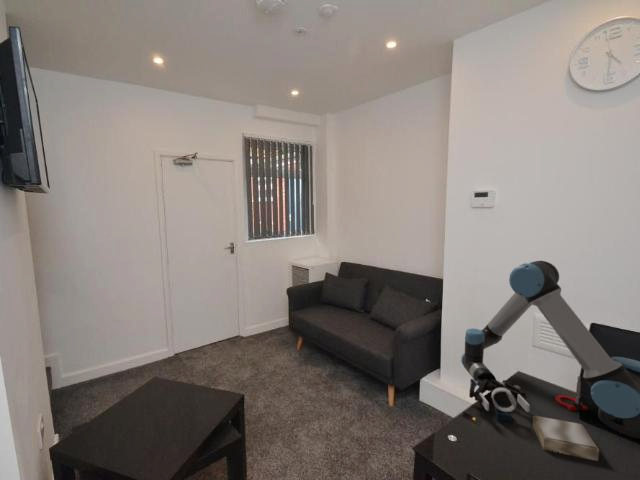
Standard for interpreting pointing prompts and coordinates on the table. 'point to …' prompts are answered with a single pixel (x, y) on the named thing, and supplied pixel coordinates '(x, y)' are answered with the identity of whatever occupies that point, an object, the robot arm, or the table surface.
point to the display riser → (565, 438)
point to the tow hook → (573, 399)
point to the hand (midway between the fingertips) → (508, 407)
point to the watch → (503, 411)
